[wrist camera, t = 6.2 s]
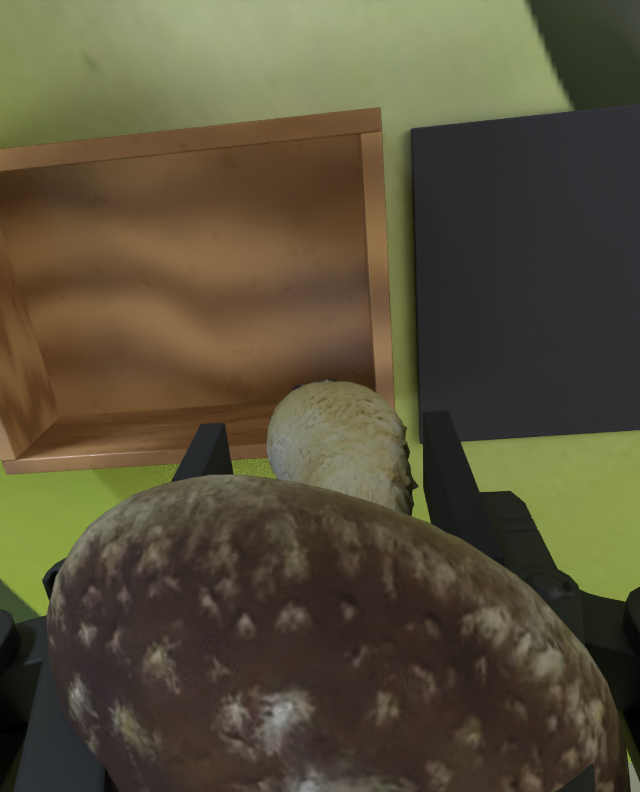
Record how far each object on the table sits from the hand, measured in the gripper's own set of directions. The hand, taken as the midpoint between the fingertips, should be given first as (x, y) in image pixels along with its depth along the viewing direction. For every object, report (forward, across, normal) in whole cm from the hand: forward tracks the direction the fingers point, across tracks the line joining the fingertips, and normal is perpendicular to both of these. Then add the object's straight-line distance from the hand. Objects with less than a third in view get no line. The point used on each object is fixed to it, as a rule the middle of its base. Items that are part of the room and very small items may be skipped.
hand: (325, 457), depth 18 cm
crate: (+20, -9, +1) cm, 22 cm away
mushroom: (+4, 0, 0) cm, 4 cm away
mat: (+20, +13, -1) cm, 24 cm away
